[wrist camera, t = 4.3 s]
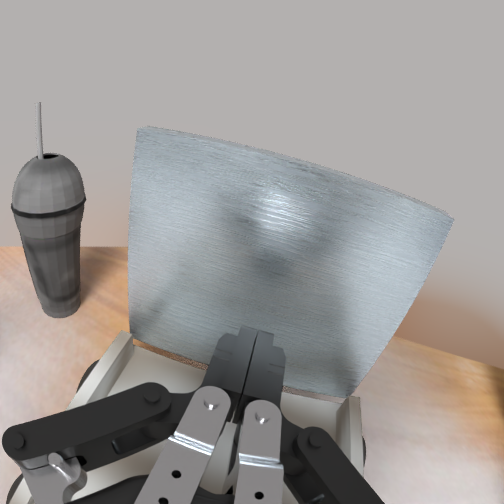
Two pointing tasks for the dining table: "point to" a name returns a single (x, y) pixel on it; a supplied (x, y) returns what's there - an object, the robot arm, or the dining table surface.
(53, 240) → the beverage cup
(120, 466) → the flatbed cart
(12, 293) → the dining table surface
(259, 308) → the panel
